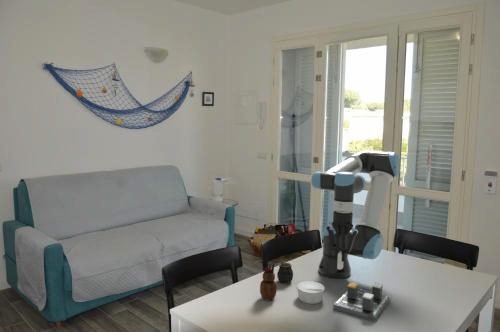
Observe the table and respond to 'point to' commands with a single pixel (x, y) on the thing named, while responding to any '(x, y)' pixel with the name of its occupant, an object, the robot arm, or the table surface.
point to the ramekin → (310, 292)
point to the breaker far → (377, 290)
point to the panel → (355, 305)
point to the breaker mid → (352, 290)
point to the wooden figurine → (268, 284)
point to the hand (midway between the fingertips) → (340, 268)
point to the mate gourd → (285, 272)
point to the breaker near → (367, 301)
